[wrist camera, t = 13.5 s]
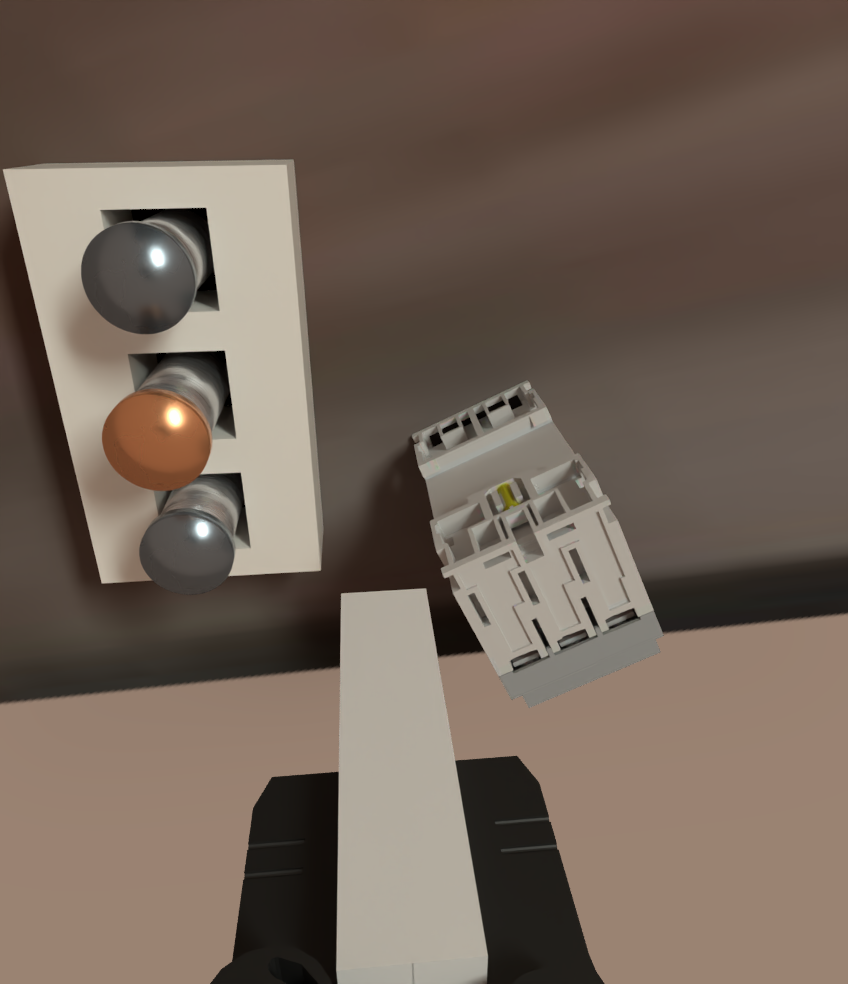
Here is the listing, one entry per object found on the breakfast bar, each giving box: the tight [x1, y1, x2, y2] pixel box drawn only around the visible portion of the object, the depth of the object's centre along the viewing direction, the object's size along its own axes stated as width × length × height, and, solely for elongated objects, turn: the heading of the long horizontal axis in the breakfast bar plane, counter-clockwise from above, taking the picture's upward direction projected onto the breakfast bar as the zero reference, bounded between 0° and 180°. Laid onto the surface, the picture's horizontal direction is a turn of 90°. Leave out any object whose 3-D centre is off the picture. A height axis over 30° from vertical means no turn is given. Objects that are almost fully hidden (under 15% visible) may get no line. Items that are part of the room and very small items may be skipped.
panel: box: [3, 160, 323, 583], centre depth 39 cm, size 21×12×5 cm, turn 1°
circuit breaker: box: [412, 380, 664, 708], centre depth 41 cm, size 8×14×15 cm, turn 25°
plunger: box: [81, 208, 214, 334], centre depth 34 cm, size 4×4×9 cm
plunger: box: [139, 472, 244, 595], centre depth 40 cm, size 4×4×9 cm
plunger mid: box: [102, 351, 230, 491], centre depth 36 cm, size 4×4×9 cm
